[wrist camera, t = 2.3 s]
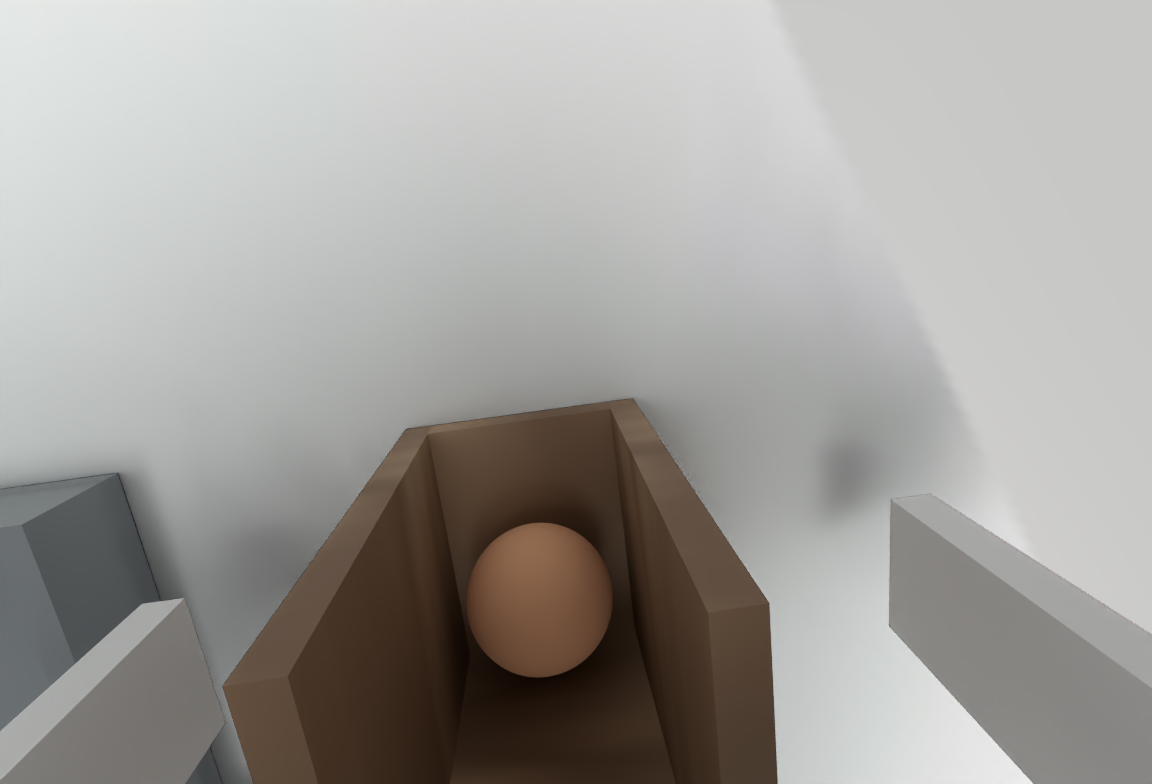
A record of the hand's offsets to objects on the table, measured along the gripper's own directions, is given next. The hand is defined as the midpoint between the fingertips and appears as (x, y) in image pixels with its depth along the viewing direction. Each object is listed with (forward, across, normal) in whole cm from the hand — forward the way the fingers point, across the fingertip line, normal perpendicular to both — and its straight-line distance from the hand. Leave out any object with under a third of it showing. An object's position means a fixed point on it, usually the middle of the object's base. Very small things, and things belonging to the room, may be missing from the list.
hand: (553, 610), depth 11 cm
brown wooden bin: (+3, 0, 0) cm, 3 cm away
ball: (+2, 0, -1) cm, 3 cm away
